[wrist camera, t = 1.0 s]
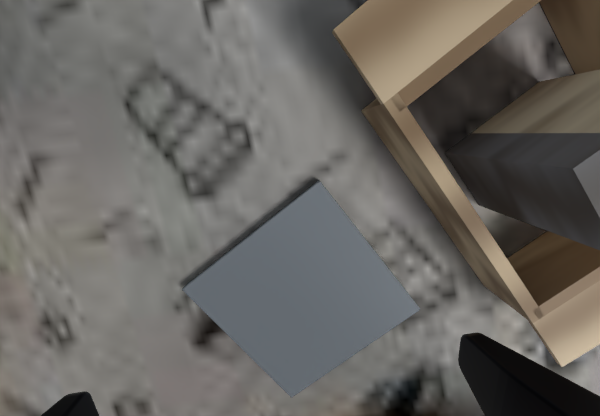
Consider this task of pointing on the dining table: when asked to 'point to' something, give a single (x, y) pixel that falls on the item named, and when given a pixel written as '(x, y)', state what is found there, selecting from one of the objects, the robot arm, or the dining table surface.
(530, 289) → the wooden tray
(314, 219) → the mat
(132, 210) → the dining table surface
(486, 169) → the box
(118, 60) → the dining table surface
